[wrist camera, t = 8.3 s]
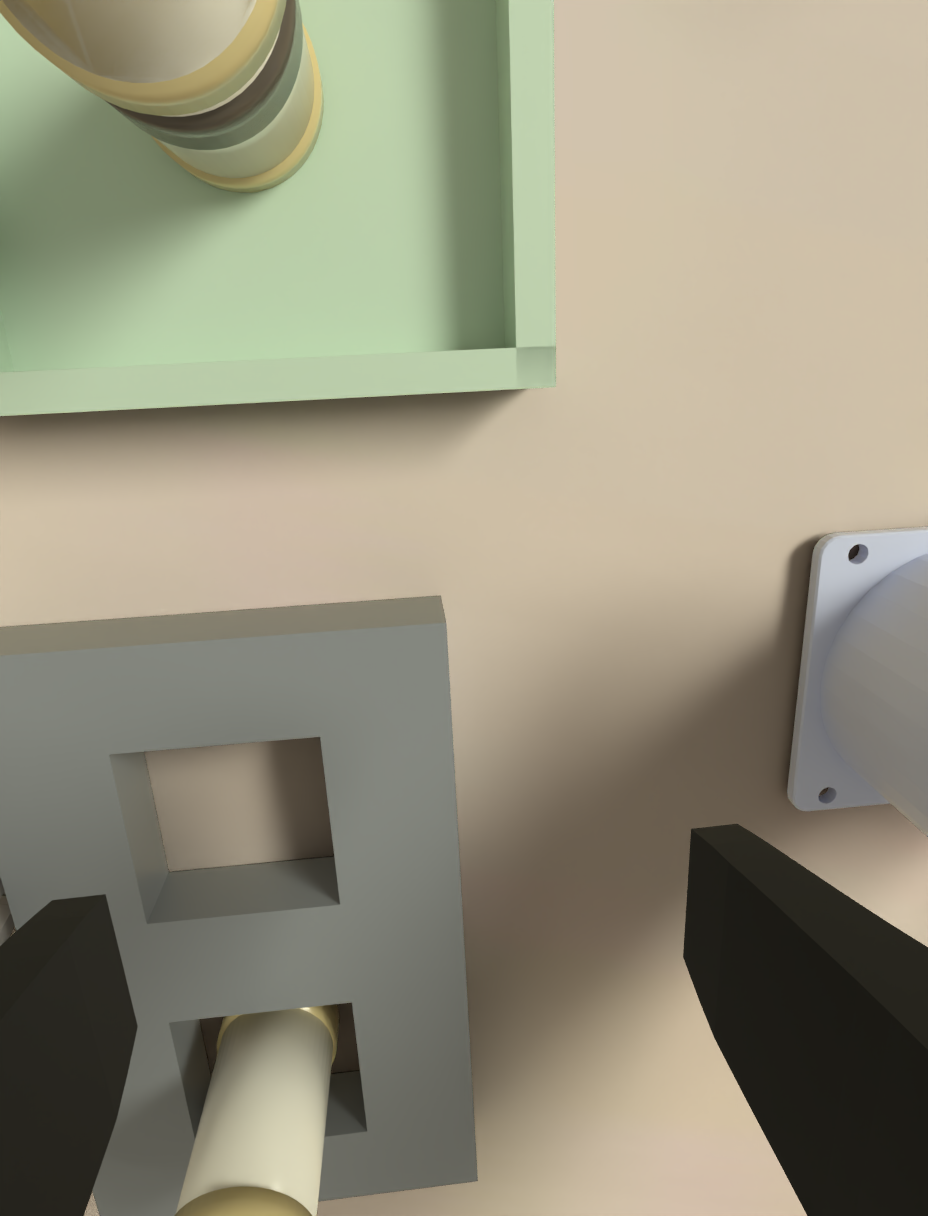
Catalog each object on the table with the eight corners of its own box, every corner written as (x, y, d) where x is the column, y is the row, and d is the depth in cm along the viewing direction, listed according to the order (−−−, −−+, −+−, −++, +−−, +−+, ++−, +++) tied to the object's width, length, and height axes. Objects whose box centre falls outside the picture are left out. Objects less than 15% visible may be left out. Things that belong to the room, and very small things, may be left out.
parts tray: (526, -311, 14) (551, -430, 12) (536, 382, 18) (555, 387, 16) (-176, -321, 13) (-286, -451, 11) (-3, 410, 17) (-58, 419, 15)
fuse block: (440, 595, 19) (446, 623, 17) (471, 1118, 25) (477, 1180, 23) (-17, 628, 18) (-64, 660, 16) (126, 1160, 24) (103, 1229, 22)
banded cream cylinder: (321, -5, 14) (271, -286, 8) (326, 198, 15) (284, 103, 9) (133, -22, 14) (-86, -329, 7) (152, 188, 15) (-24, 80, 9)
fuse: (332, 968, 22) (303, 1227, 16) (345, 1055, 23) (323, 1330, 17) (215, 981, 22) (136, 1248, 16) (234, 1068, 23) (168, 1351, 17)
